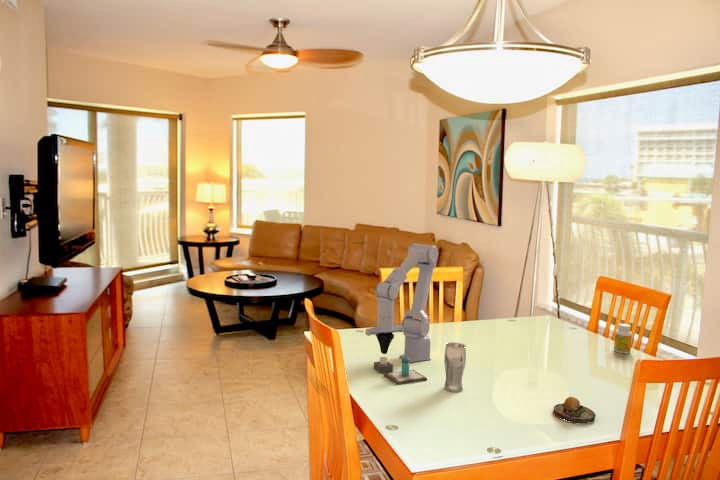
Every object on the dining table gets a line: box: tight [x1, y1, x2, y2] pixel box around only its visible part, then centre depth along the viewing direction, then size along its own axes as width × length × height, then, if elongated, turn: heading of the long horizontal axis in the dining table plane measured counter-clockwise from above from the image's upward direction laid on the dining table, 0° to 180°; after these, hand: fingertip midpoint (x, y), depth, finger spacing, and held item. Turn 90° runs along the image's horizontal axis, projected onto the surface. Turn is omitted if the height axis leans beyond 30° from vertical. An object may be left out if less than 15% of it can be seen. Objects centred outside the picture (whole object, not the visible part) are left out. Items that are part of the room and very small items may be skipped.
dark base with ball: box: [552, 396, 596, 424], centre depth 175 cm, size 12×12×8 cm
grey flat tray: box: [383, 369, 428, 386], centre depth 202 cm, size 12×9×1 cm
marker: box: [400, 357, 410, 377], centre depth 202 cm, size 3×3×6 cm
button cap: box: [379, 356, 389, 366], centre depth 209 cm, size 3×3×3 cm
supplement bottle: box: [613, 323, 633, 354], centre depth 242 cm, size 6×6×11 cm
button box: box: [373, 360, 394, 375], centre depth 209 cm, size 5×5×3 cm
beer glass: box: [443, 342, 467, 393], centre depth 193 cm, size 7×7×15 cm
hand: (383, 353), depth 208 cm, fingers closed
